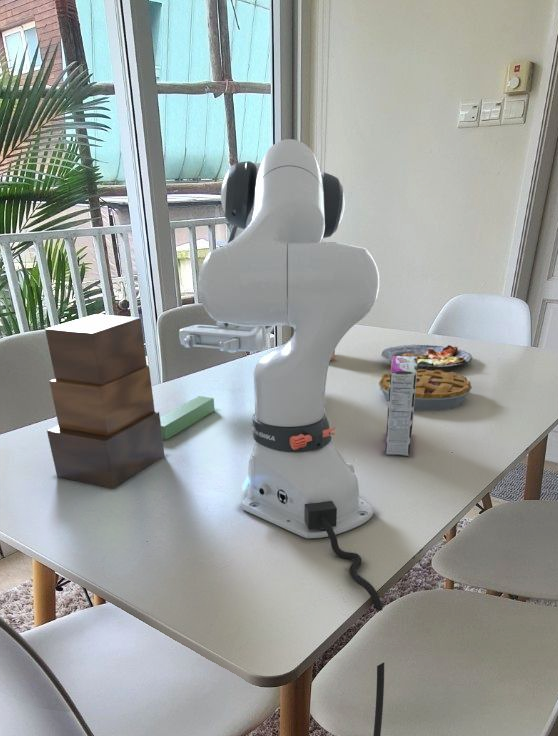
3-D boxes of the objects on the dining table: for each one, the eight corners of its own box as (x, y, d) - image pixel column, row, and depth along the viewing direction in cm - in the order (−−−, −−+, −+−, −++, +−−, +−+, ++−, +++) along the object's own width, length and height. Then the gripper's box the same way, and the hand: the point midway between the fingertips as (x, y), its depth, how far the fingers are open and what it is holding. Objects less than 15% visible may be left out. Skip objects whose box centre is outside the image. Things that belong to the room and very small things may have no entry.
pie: (372, 409, 142) (374, 388, 140) (381, 382, 160) (383, 363, 158) (471, 415, 137) (474, 393, 135) (469, 386, 156) (472, 366, 153)
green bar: (200, 408, 146) (199, 396, 144) (214, 410, 144) (213, 398, 143) (150, 437, 130) (148, 423, 129) (165, 440, 129) (164, 426, 127)
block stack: (111, 446, 127) (89, 313, 113) (164, 455, 122) (147, 318, 108) (56, 477, 114) (24, 331, 101) (113, 488, 109) (87, 338, 96)
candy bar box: (386, 434, 129) (392, 355, 120) (410, 436, 128) (418, 355, 119) (383, 455, 119) (389, 370, 111) (409, 457, 118) (418, 371, 110)
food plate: (471, 354, 183) (473, 342, 181) (471, 376, 163) (472, 362, 162) (386, 350, 189) (387, 338, 187) (376, 371, 170) (377, 358, 168)
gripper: (195, 316, 151) (163, 327, 141) (270, 321, 143) (243, 334, 133) (197, 342, 154) (166, 355, 144) (271, 349, 147) (244, 363, 136)
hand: (204, 345), depth 138 cm, fingers open, 8 cm apart
